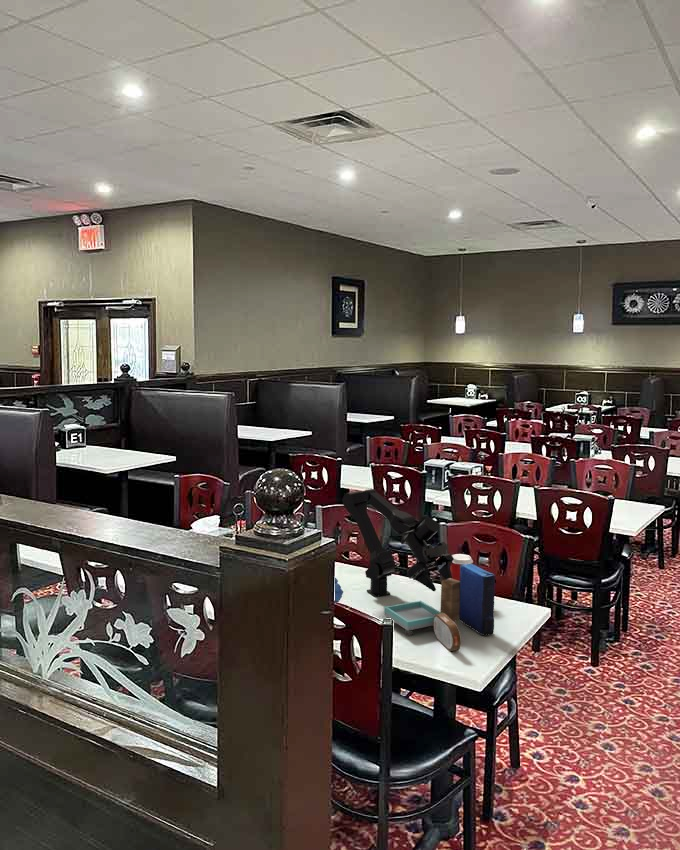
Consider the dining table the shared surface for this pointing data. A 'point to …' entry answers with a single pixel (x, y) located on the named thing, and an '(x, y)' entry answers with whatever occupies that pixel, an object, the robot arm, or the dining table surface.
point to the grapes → (338, 591)
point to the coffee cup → (459, 564)
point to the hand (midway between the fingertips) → (444, 587)
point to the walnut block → (450, 598)
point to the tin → (447, 632)
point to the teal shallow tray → (411, 615)
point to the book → (477, 598)
